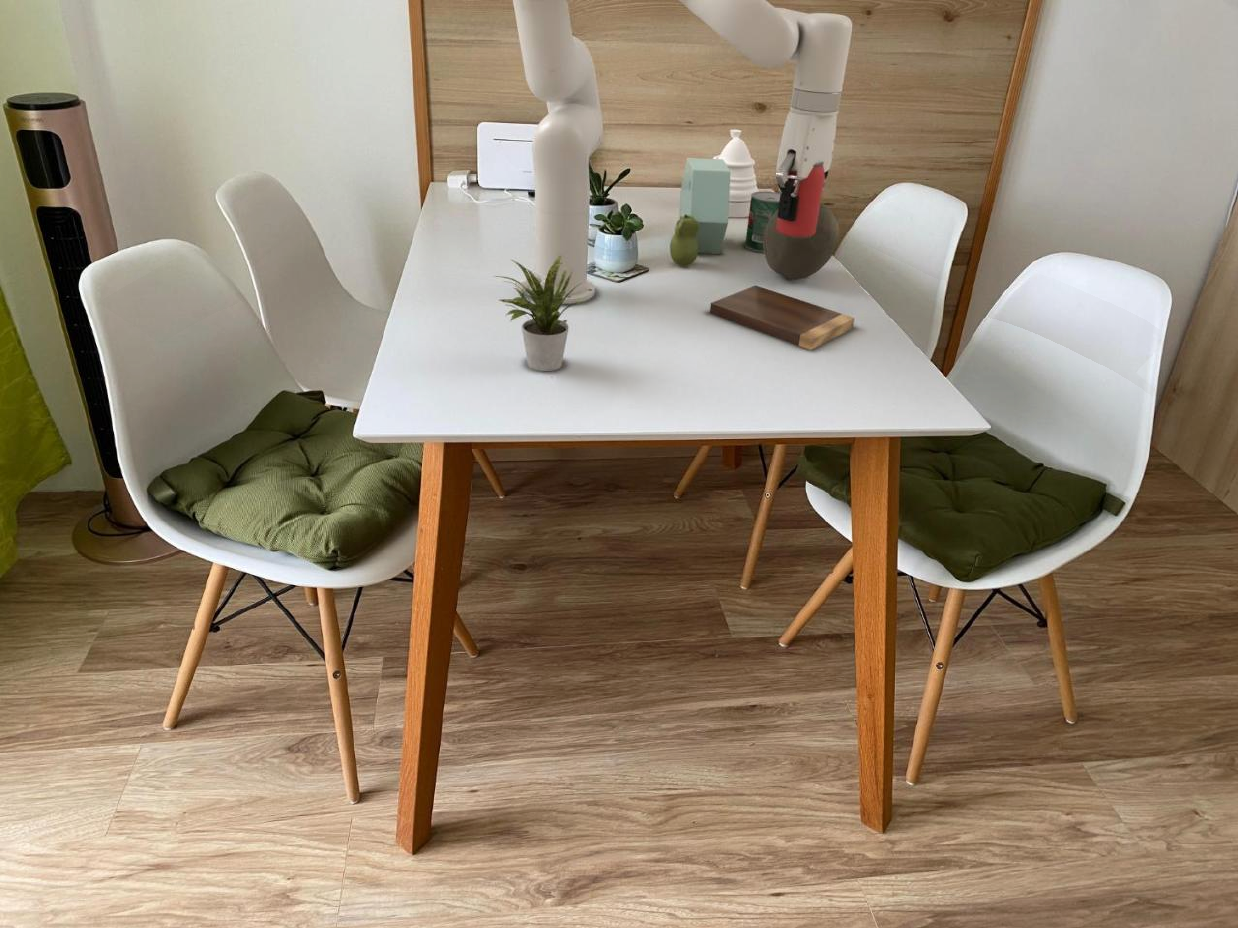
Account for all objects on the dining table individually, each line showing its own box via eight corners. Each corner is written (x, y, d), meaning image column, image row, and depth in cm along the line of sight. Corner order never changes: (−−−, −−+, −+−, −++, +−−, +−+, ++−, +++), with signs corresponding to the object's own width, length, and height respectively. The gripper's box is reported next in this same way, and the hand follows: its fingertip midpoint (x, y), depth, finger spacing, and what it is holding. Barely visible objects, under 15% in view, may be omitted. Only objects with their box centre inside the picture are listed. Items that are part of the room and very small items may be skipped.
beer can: (787, 225, 157) (798, 153, 151) (822, 234, 153) (834, 161, 147) (768, 233, 152) (778, 159, 146) (802, 242, 149) (814, 167, 143)
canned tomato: (742, 240, 200) (748, 190, 194) (777, 242, 200) (784, 192, 195) (747, 252, 193) (754, 200, 187) (784, 253, 194) (792, 202, 188)
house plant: (508, 338, 148) (507, 239, 139) (592, 346, 147) (596, 247, 138) (488, 375, 136) (485, 270, 127) (579, 384, 135) (583, 279, 126)
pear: (690, 259, 187) (694, 211, 182) (700, 268, 183) (705, 219, 177) (665, 261, 185) (669, 212, 180) (675, 270, 181) (679, 220, 176)
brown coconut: (810, 295, 173) (823, 216, 165) (746, 276, 180) (756, 200, 172) (842, 277, 183) (856, 202, 175) (780, 260, 190) (791, 187, 182)
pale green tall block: (715, 270, 196) (733, 204, 177) (679, 268, 195) (694, 203, 177) (711, 208, 203) (728, 139, 184) (676, 207, 202) (690, 137, 184)
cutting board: (810, 350, 150) (812, 339, 149) (709, 313, 162) (710, 303, 161) (852, 328, 160) (854, 317, 159) (753, 295, 171) (755, 285, 170)
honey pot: (696, 202, 225) (704, 126, 215) (746, 202, 227) (756, 127, 218) (710, 217, 214) (719, 138, 205) (762, 217, 216) (773, 139, 207)
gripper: (822, 93, 150) (805, 202, 159) (764, 103, 138) (750, 220, 148) (863, 100, 146) (843, 211, 155) (807, 111, 134) (789, 230, 144)
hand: (798, 214), depth 151 cm, fingers closed on beer can, 6 cm apart
